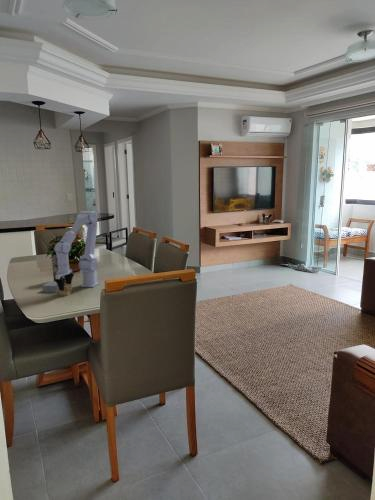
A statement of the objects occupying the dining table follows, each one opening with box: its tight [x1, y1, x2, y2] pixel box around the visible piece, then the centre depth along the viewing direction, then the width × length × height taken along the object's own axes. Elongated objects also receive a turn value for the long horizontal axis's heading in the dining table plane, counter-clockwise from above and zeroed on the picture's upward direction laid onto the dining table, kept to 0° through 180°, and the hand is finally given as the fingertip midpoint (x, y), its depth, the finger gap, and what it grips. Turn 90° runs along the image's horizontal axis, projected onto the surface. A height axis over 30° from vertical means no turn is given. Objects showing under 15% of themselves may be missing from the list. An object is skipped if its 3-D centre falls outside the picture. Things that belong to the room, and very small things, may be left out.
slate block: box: [41, 281, 59, 293], centre depth 205 cm, size 8×8×4 cm
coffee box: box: [51, 255, 66, 283], centre depth 221 cm, size 9×6×16 cm
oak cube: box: [58, 283, 73, 296], centre depth 197 cm, size 5×5×5 cm
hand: (65, 288), depth 197 cm, fingers open, 7 cm apart
